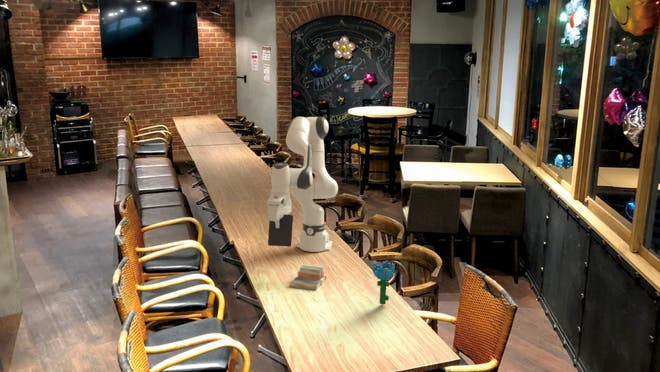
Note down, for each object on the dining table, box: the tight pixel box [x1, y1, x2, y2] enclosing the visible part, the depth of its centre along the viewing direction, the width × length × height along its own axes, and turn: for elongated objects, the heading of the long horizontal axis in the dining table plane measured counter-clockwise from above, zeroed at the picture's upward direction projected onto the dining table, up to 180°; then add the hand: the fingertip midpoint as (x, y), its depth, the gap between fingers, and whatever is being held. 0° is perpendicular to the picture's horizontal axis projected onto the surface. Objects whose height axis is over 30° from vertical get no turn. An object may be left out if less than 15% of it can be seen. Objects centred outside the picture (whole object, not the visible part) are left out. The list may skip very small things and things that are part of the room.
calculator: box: [267, 214, 294, 248], centre depth 282 cm, size 11×4×15 cm, turn 97°
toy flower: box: [372, 260, 396, 306], centre depth 255 cm, size 9×9×18 cm
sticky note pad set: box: [289, 263, 328, 291], centre depth 279 cm, size 15×13×7 cm
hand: (280, 225), depth 283 cm, fingers closed on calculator, 5 cm apart
